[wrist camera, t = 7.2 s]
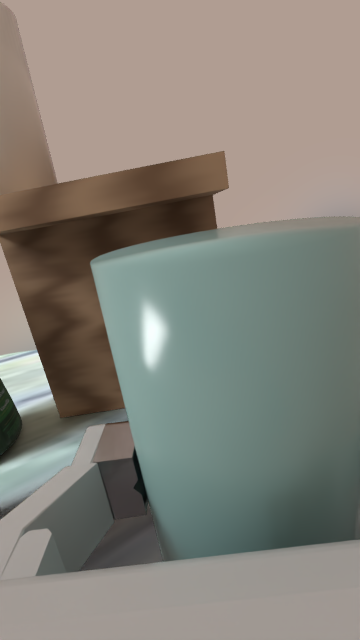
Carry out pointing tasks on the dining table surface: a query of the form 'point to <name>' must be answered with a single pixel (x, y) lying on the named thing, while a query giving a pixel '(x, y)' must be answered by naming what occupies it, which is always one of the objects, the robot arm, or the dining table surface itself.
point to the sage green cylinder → (242, 381)
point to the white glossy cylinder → (19, 117)
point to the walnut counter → (83, 246)
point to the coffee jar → (8, 420)
